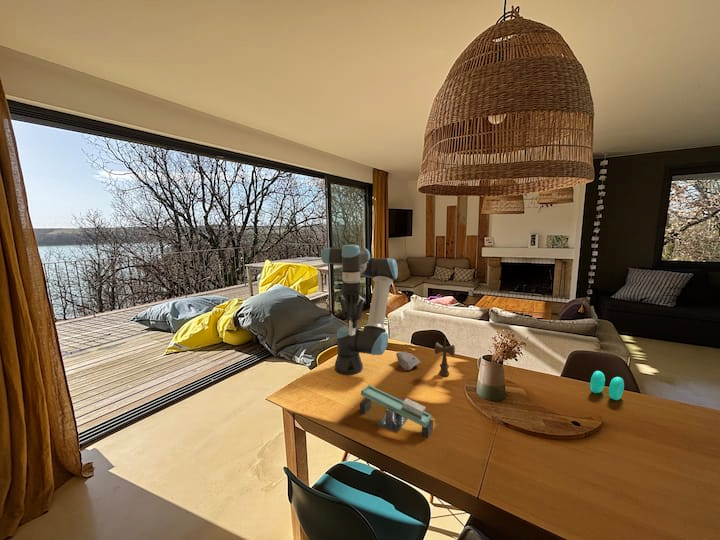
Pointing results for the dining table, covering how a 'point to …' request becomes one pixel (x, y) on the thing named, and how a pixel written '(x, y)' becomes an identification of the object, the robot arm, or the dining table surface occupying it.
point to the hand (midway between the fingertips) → (352, 334)
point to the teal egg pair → (614, 388)
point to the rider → (413, 408)
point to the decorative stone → (407, 360)
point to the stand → (393, 419)
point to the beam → (393, 404)
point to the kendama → (444, 356)
